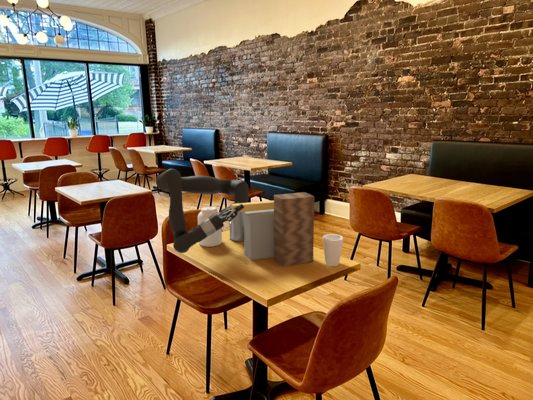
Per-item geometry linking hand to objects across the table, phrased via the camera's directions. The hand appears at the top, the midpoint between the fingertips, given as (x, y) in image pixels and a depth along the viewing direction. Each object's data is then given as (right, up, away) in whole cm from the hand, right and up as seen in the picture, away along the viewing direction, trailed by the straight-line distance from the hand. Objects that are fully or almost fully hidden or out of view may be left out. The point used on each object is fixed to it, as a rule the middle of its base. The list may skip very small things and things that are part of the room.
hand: (241, 204), depth 190 cm
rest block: (+10, -25, +10) cm, 29 cm away
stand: (+25, -27, +2) cm, 37 cm away
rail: (+8, -2, +3) cm, 9 cm away
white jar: (-19, -22, +27) cm, 39 cm away
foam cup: (+43, -28, -2) cm, 51 cm away
